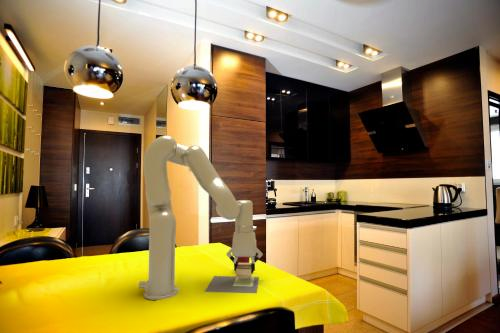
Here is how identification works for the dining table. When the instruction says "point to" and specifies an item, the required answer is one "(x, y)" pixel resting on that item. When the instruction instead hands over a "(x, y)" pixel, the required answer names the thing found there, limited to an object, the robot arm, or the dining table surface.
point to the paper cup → (243, 259)
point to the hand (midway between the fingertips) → (244, 272)
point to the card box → (243, 270)
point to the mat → (233, 284)
